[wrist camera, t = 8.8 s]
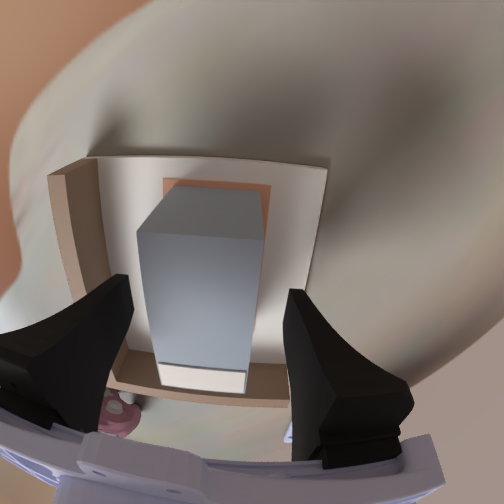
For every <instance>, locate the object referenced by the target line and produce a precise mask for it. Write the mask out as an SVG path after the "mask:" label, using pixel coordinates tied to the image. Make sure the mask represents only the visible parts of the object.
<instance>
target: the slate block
mask: <svg viewBox="0 0 504 504" xmlns="http://www.w3.org/2000/svg"><path fill="white" fill-rule="evenodd" d="M136 235H137V245H138V254H139V263H140V271H141V278H142V286H143V292H144V299H145V305H146V312H147V317H148V323H149V329H150V334H151V339H152V344H153V349H154V354H155V359H156V363H157V368H158V372H159V377H160V381H161V385H165V386H171V387H179V388H187V389H195V390H204V391H215V392H227V393H241V394H245V391H246V383H247V376H248V368H249V360H250V353H251V345H252V337H253V329H254V321H255V313H256V305H257V297H258V289H259V281H260V272H261V264H262V256H263V247H264V230H263V217H262V205H261V192H260V191H254V190H242V189H228V188H213V187H196V186H175V185H174V186H173V187H172V188H171V189H170V190H169V192H168V193H167V194H166V195H165V196H164V198H163V199H162V200H161V201H160V202H159V204H158V205H157V206H156V207H155V208H154V210H153V211H152V212H151V213H150V215H149V216H148V217H147V218H146V220H145V221H144V222H143V223H142V225H141V226H140V227H139V228H138V230H137V231H136Z"/></svg>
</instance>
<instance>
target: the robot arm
mask: <svg viewBox="0 0 504 504" xmlns="http://www.w3.org/2000/svg"><path fill="white" fill-rule="evenodd" d="M134 310H135V309H134V304H133V299H132V293H131V287H130V281H129V275H127V274H118V273H116V274H115V275H113V276H112V277H110V278H109V279H107V280H106V281H105V282H103V283H102V284H100V285H99V286H98V287H96V288H95V289H94V290H92V291H91V292H89V293H88V294H87V295H85V296H84V297H82V298H81V299H79V300H78V301H76V302H75V303H73V304H72V305H70V306H69V307H67V308H65V309H64V310H62V311H60V312H58V313H56V314H55V315H53V316H51V317H49V318H46V319H44V320H42V321H40V322H37V323H35V324H33V325H30V326H27V327H25V328H22V329H19V330H15V331H12V332H8V333H4V334H0V456H1V457H2V458H4V459H6V460H7V461H9V462H10V463H12V464H14V465H15V466H17V467H19V468H21V469H22V470H24V471H26V472H28V473H29V474H31V475H33V476H35V477H37V478H38V479H40V480H42V481H44V482H46V483H48V484H50V485H52V486H54V487H56V488H57V490H56V494H55V497H54V501H53V504H416V502H415V501H417V500H419V499H421V498H423V497H425V496H426V495H428V494H430V493H432V492H433V491H435V490H437V489H438V488H440V487H442V486H443V485H445V479H444V476H443V472H442V469H441V465H440V462H439V460H438V456H437V453H436V450H435V447H434V444H433V441H432V438H431V435H430V434H425V435H422V436H417V437H413V438H409V439H406V440H404V441H402V442H399V439H398V436H399V435H400V434H401V431H400V428H399V425H400V424H401V423H402V421H403V420H404V419H405V418H406V417H407V416H408V415H409V413H410V412H411V411H412V409H413V407H414V400H413V397H412V394H411V392H410V389H409V387H408V385H407V383H406V381H404V380H402V379H400V378H398V377H396V376H394V375H392V374H390V373H388V372H387V371H385V370H383V369H382V368H380V367H378V366H377V365H375V364H374V363H372V362H371V361H369V360H368V359H367V358H365V357H364V356H363V355H361V354H360V353H359V352H357V351H356V350H355V349H354V348H353V347H351V346H350V345H349V344H348V343H347V342H346V341H345V340H344V339H343V338H342V337H341V336H340V335H339V334H338V333H337V332H336V331H335V330H334V329H333V328H332V327H331V325H330V324H329V323H328V322H327V321H326V319H325V318H324V317H323V316H322V314H321V313H320V312H319V310H318V309H317V308H316V306H315V305H314V304H313V302H312V301H311V299H310V298H309V297H308V295H307V294H306V292H305V291H304V290H303V289H294V288H289V293H288V298H287V303H286V308H285V313H284V318H283V323H282V324H283V344H284V351H285V357H286V363H287V369H288V375H289V381H290V388H291V406H292V420H291V422H290V425H289V427H288V429H287V432H286V434H285V436H284V442H285V443H292V462H247V461H228V460H215V459H205V458H201V457H200V456H197V455H195V454H192V453H190V452H187V451H183V450H179V449H174V448H169V447H163V446H157V445H152V444H147V443H142V442H137V441H133V440H129V439H124V438H120V437H116V436H112V435H109V434H105V433H99V432H98V425H99V419H100V413H101V407H102V402H103V398H104V393H105V389H106V385H107V382H108V378H109V374H110V371H111V368H112V366H113V363H114V361H115V359H116V356H117V354H118V352H119V349H120V347H121V345H122V343H123V341H124V338H125V336H126V334H127V332H128V329H129V327H130V323H131V320H132V317H133V313H134Z"/></svg>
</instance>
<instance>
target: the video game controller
mask: <svg viewBox="0 0 504 504" xmlns="http://www.w3.org/2000/svg"><path fill="white" fill-rule="evenodd" d="M140 418H141V410H140V407H139V406H138V405H136V404H127V403H126V402H124V401H123V400H122V399H121V398H120V396H119V393H118V392H117V390H116V389H113V388H108V387H106V389H105V393H104V398H103V402H102V407H101V413H100V419H99V425H98V432H99V433H105V434H109V435H112V436H116V437H120V438H123V437H126V436H127V435H129V434H130V433H131V432H132V431H133V430H134V429H135V428H136V427H137V426H138V424H139V422H140Z"/></svg>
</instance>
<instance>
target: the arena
mask: <svg viewBox="0 0 504 504" xmlns="http://www.w3.org/2000/svg"><path fill="white" fill-rule="evenodd" d="M327 172H328V170H327V169H326V168H323V167H315V166H308V165H299V164H291V163H282V162H272V161H261V160H249V159H236V158H221V157H201V156H168V155H124V156H93V157H84V158H82V159H80V160H78V161H76V162H74V163H71V164H69V165H67V166H65V167H63V168H61V169H59V170H57V171H55V172H53V173H51V174H49V175H47V179H48V187H49V195H50V201H51V208H52V214H53V220H54V225H55V230H56V235H57V240H58V245H59V249H60V253H61V258H62V262H63V266H64V270H65V273H66V277H67V281H68V284H69V288H70V291H71V295H72V298H73V301H74V303H75V302H76V301H78V300H79V299H81V298H82V297H84V296H85V295H87V294H88V293H89V292H91V291H92V290H94V289H95V288H96V287H98V286H99V285H100V284H102V283H103V282H105V281H106V280H107V279H109V278H110V277H112V276H113V275H115V274H116V273H118V274H127V275H129V281H130V287H131V293H132V299H133V304H134V309H135V310H134V313H133V317H132V320H131V323H130V327H129V329H128V332H127V334H126V336H125V338H124V341H123V343H122V345H121V347H120V349H119V352H118V354H117V356H116V359H115V361H114V363H113V366H112V368H111V371H110V374H109V378H108V382H107V385H106V387H108V388H113V389H117V390H122V391H127V392H132V393H137V394H142V395H148V396H154V397H160V398H166V399H173V400H180V401H188V402H196V403H205V404H216V405H228V406H244V407H273V408H287V406H288V404H289V401H290V396H289V385H288V375H287V366H286V357H285V351H284V344H283V324H282V323H283V318H284V313H285V308H286V303H287V298H288V293H289V288H294V289H303V290H305V286H306V281H307V277H308V272H309V267H310V263H311V258H312V253H313V248H314V243H315V238H316V233H317V228H318V223H319V217H320V212H321V207H322V201H323V195H324V190H325V184H326V178H327ZM174 185H175V186H196V187H213V188H228V189H242V190H254V191H260V192H261V205H262V217H263V230H264V247H263V256H262V264H261V272H260V281H259V289H258V297H257V305H256V313H255V321H254V329H253V337H252V345H251V353H250V360H249V368H248V376H247V383H246V391H245V394H241V393H227V392H215V391H204V390H195V389H187V388H179V387H171V386H165V385H161V381H160V377H159V372H158V368H157V363H156V359H155V354H154V349H153V344H152V339H151V334H150V329H149V323H148V317H147V312H146V305H145V299H144V292H143V286H142V278H141V271H140V263H139V254H138V245H137V235H136V231H137V230H138V228H139V227H140V226H141V225H142V223H143V222H144V221H145V220H146V218H147V217H148V216H149V215H150V213H151V212H152V211H153V210H154V208H155V207H156V206H157V205H158V204H159V202H160V201H161V200H162V199H163V198H164V196H165V195H166V194H167V193H168V192H169V190H170V189H171V188H172V187H173V186H174Z"/></svg>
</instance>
